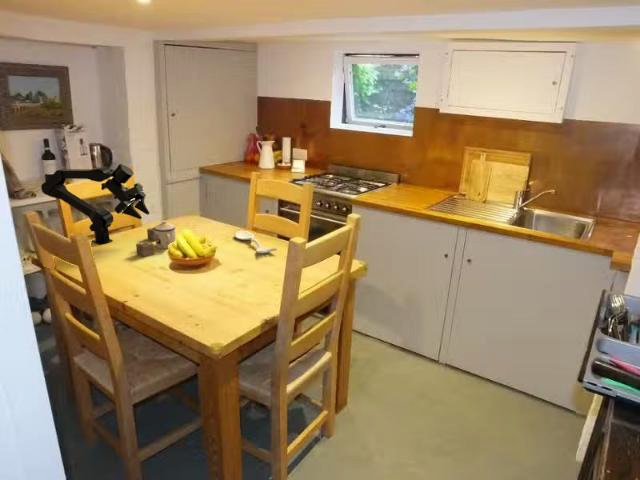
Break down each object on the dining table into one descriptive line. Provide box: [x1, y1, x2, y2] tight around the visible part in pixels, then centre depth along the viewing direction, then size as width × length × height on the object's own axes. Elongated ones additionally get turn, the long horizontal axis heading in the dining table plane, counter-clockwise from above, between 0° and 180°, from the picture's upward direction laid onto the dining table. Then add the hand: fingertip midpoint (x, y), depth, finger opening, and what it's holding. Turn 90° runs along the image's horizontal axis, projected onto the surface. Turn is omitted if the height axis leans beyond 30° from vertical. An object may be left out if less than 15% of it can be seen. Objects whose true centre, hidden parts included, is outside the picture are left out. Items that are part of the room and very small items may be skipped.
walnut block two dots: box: [135, 240, 155, 259], centre depth 198 cm, size 5×5×5 cm
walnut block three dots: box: [146, 226, 156, 242], centre depth 217 cm, size 5×5×5 cm
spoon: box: [233, 230, 278, 254], centre depth 216 cm, size 9×32×4 cm, turn 32°
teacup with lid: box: [154, 220, 176, 250], centre depth 207 cm, size 12×9×12 cm
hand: (145, 216), depth 205 cm, fingers open, 7 cm apart
